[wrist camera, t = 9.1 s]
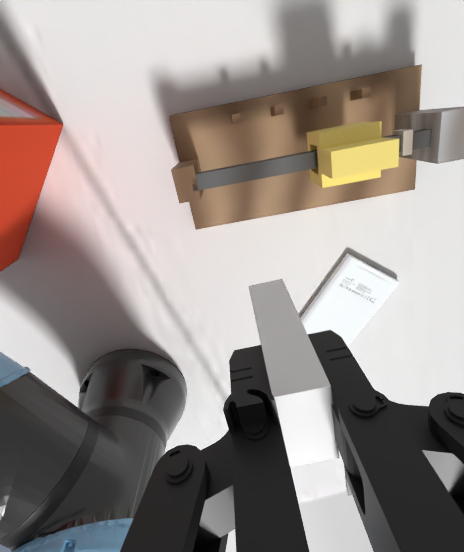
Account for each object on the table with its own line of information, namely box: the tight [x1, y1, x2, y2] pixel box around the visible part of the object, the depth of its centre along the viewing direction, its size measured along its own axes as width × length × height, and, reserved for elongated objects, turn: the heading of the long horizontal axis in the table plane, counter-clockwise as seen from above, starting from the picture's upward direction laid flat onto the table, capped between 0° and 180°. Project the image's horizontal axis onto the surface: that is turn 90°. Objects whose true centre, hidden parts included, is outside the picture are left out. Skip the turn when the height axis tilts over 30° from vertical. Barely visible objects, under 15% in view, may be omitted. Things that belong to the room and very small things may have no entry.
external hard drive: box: [300, 253, 400, 347], centre depth 44 cm, size 2×8×12 cm
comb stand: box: [169, 65, 464, 229], centre depth 32 cm, size 25×12×9 cm, turn 100°
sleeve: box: [307, 121, 399, 188], centre depth 28 cm, size 5×4×7 cm
